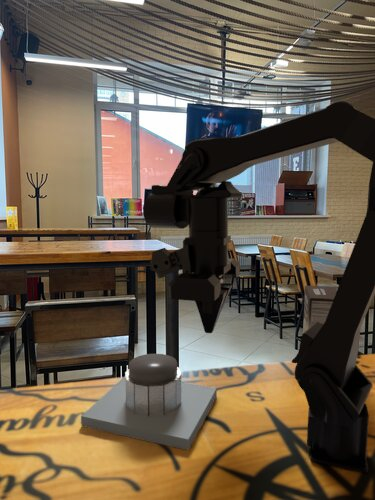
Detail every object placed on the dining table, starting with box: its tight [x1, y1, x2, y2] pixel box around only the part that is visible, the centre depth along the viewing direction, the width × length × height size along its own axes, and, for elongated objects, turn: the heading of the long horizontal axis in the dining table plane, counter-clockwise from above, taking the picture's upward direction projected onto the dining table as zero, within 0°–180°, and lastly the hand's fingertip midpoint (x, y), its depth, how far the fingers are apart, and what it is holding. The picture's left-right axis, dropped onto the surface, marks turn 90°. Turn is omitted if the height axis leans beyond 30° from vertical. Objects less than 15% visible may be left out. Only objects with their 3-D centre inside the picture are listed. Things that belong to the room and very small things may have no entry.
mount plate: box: [80, 376, 218, 451], centre depth 58 cm, size 16×14×2 cm
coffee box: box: [302, 285, 339, 334], centre depth 67 cm, size 9×6×16 cm
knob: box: [128, 353, 178, 385], centre depth 57 cm, size 7×7×5 cm
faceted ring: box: [124, 366, 182, 417], centre depth 58 cm, size 8×8×4 cm
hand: (208, 332), depth 58 cm, fingers closed
